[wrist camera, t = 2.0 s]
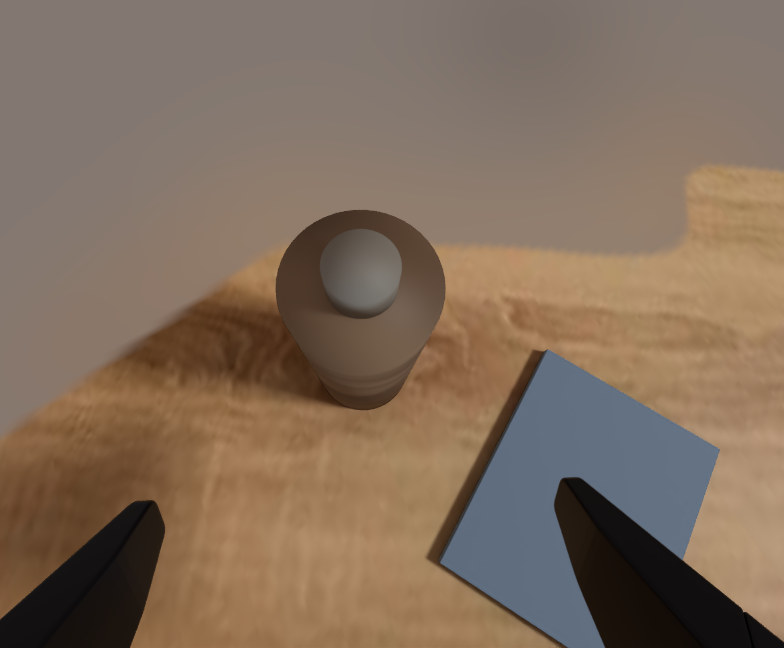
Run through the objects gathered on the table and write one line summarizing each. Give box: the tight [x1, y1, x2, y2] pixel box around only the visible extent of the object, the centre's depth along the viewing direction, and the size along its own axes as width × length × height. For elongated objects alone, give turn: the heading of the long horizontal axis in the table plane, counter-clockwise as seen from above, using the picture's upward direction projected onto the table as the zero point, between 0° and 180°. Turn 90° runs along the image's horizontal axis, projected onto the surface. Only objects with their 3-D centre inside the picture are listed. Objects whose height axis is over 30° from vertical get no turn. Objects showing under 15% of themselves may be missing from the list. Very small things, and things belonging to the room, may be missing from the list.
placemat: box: [438, 349, 720, 648], centre depth 21 cm, size 12×10×1 cm
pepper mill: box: [276, 210, 445, 410], centre depth 16 cm, size 5×5×13 cm
